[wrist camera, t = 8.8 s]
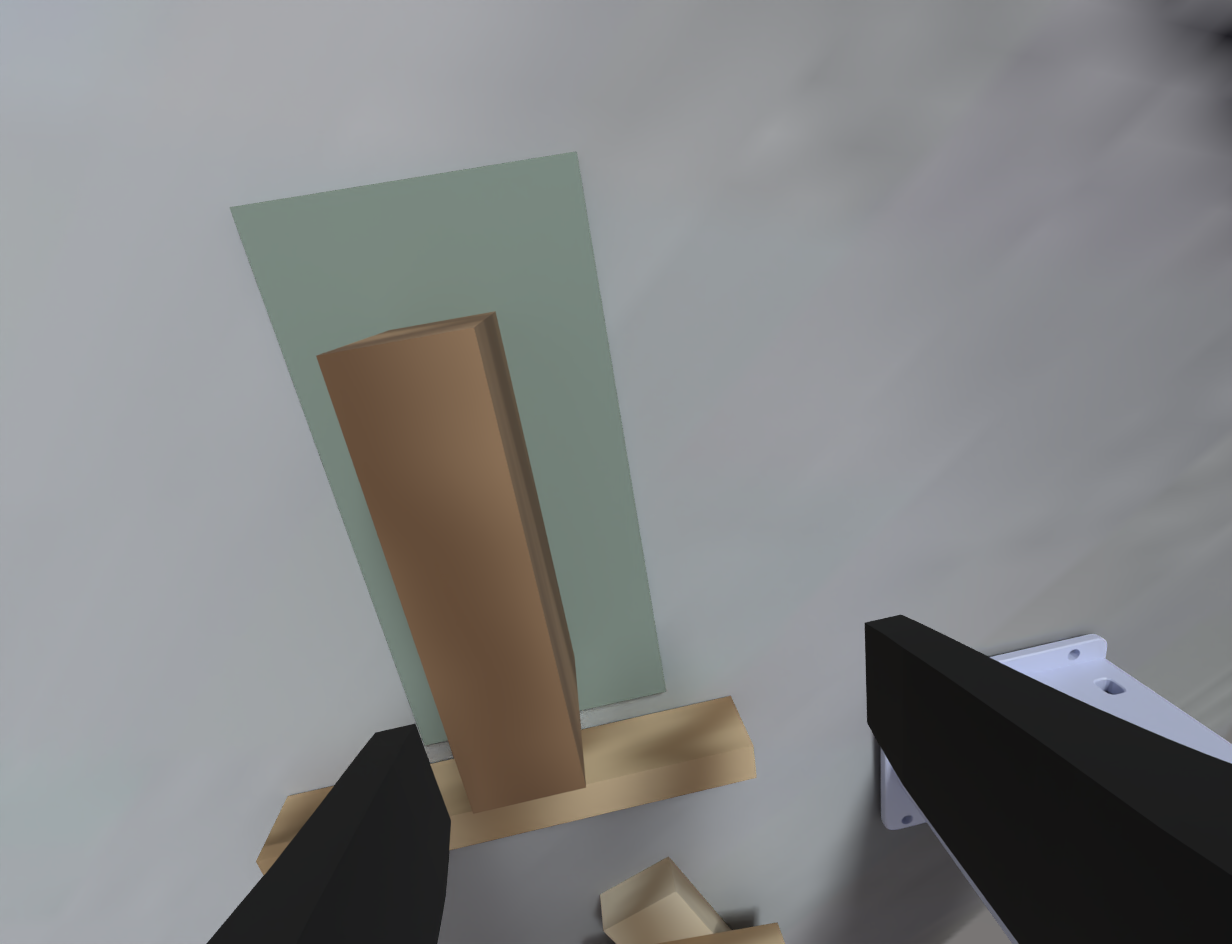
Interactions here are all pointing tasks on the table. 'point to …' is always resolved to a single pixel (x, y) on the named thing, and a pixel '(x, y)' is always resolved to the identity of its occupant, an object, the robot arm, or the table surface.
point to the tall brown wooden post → (466, 548)
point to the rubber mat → (537, 360)
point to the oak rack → (586, 776)
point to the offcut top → (738, 936)
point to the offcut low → (657, 908)
